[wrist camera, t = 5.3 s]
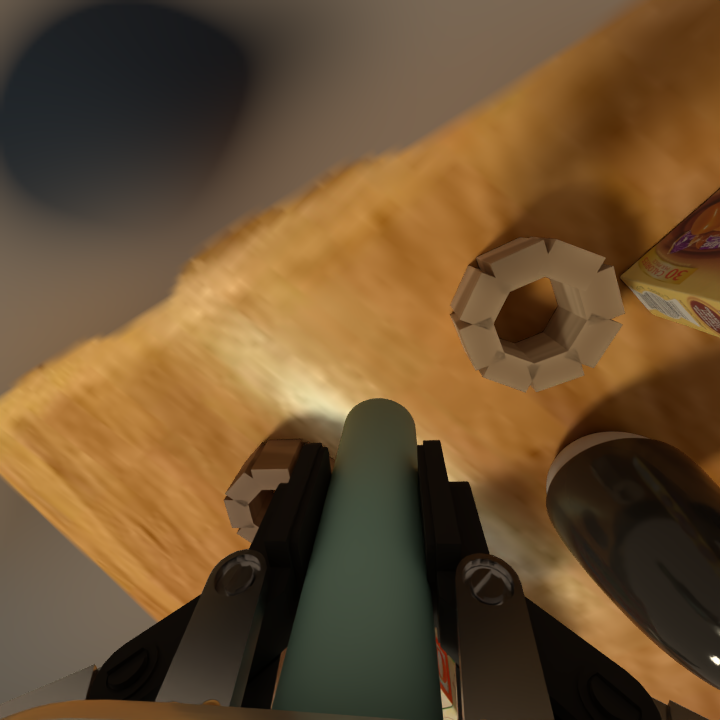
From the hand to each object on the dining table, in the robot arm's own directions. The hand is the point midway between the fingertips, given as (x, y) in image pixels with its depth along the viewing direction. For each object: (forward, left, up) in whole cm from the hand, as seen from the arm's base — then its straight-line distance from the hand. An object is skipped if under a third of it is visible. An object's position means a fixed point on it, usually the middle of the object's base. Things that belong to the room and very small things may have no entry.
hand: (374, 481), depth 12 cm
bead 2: (-9, -2, -16) cm, 19 cm away
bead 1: (+10, +13, -16) cm, 23 cm away
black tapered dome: (-16, +12, -16) cm, 26 cm away
